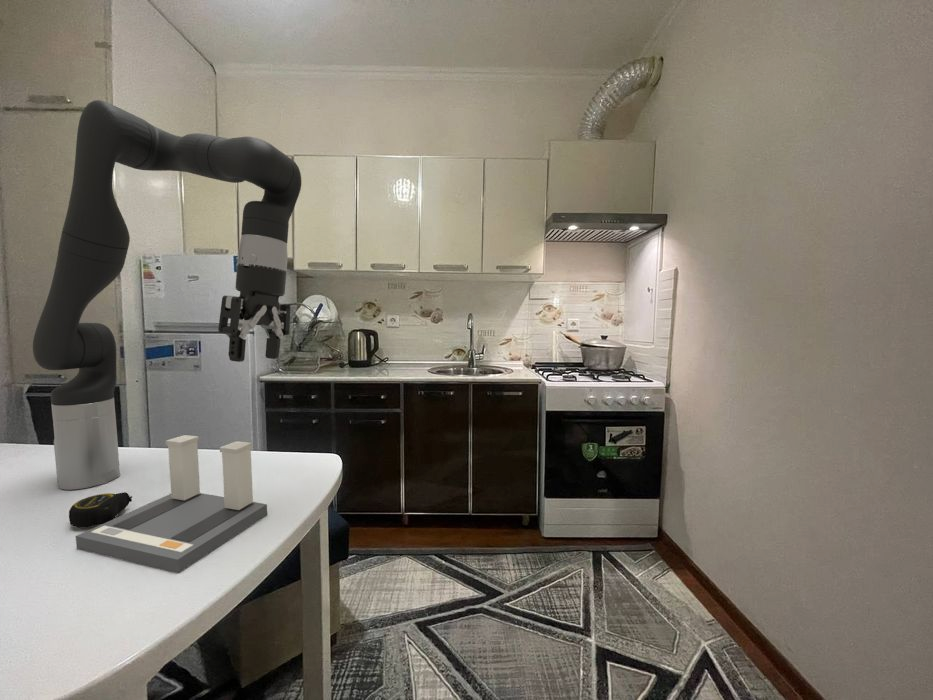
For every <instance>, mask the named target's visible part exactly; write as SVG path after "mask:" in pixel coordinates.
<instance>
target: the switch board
mask: <svg viewBox="0 0 933 700" xmlns="http://www.w3.org/2000/svg"><path fill="white" fill-rule="evenodd" d="M267 516H268V504H267V503H261V502H257V501H253V502H252V503H250V504H249V505H247V506H245V507H244V508H242V509H240V510H235V509H229V508H225V502H224V496H219V495H215V494H209V493H208V494H207V493H202V492H200V493H199V494H197V495H195V496H193V497H191V498H189V499H187V500H179V499H173V498H171V493H168V494H167V495H165V496H163V497H160V498H158V499H156V500H155V499H154V500H153V501H152V502H150V503H147V504H145V505H142V506H140V507H138V508H136V509H132V510H131V511H129V512H126V513H124V514H123V515H122V514H121V515H120V516H116V517H115V518H114V519H113V520H111V521H108V522H106V523H104V524H100V525H96V526H94V527H92V528H91V529H89V530H86V531H84V532H82V533H80V534H77V535H75V543H76V549H77V550H81V551H85V552H89V553H94V554H98V555H101V556H102V555H103V556H106V557H109V558H113V559H118V560H122V561H126V562H131V563H134V564H139V565H142V566H146V567H151V568H154V569H159V570H163V571H167V572H171V573H176V574H180V573H181V572H184V570H186V569H187V568H189V567H191V566H192V565H193V564H195V563H197V562H198V561H199V560H200V561H201V559H202V558H204V557H206V556H207V555H208V554H210V553H211V552H213V551H215V550H216V549H218V548H219V547H221V546H222V545H223V544H226V543H228V541H230V540H232V539H233V538H235V537H236V536H237V535H239V534H241V533H243V532H244V531H245V530H246V529H248V528H250V527H252V526H253V525H255V524H256V523H257V522H259V521H260V520H262V519H264V518H265V517H267Z"/></svg>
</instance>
